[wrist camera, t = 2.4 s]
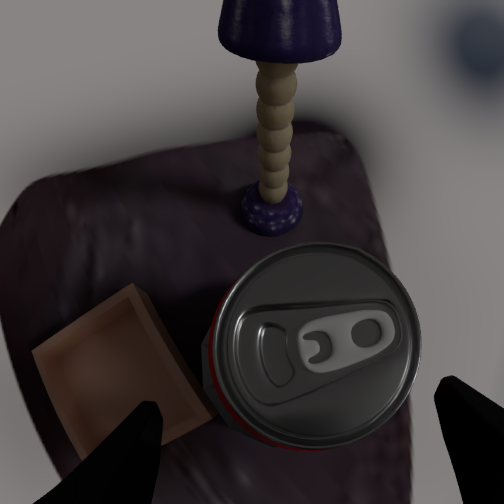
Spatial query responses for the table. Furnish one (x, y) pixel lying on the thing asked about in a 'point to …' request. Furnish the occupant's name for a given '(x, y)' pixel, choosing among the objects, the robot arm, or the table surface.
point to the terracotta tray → (119, 372)
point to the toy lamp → (277, 91)
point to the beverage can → (314, 346)
